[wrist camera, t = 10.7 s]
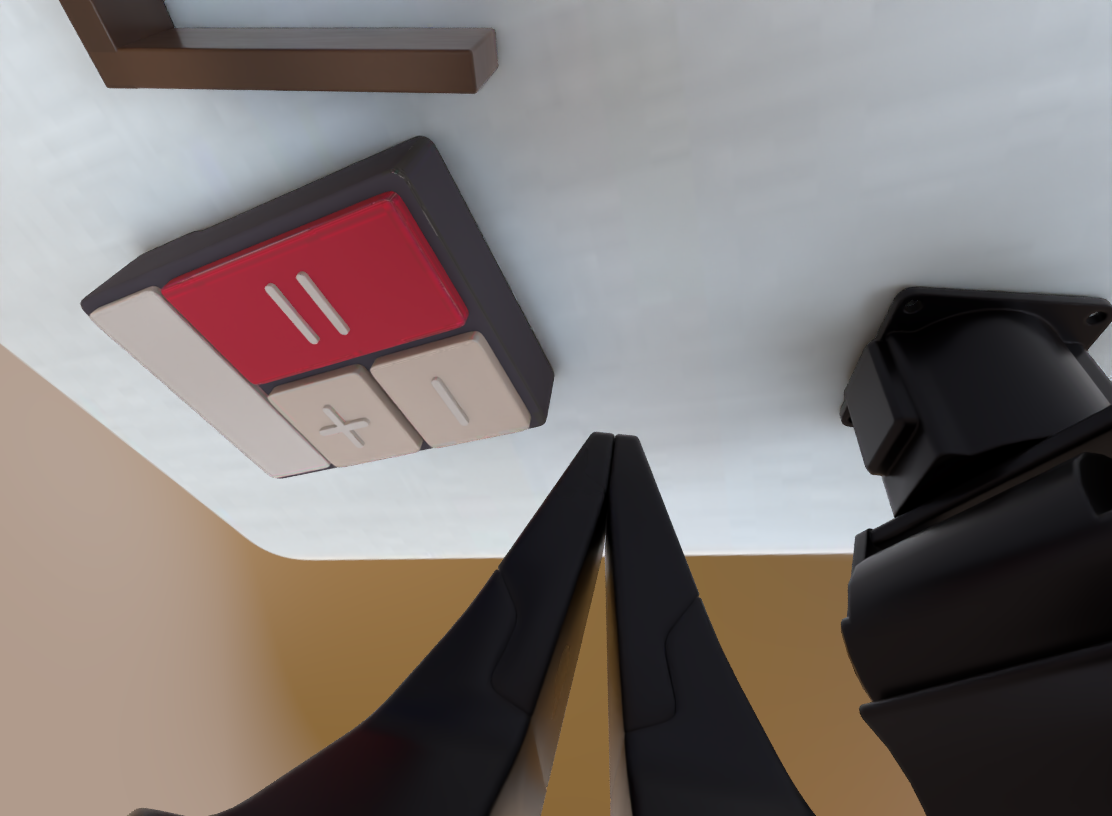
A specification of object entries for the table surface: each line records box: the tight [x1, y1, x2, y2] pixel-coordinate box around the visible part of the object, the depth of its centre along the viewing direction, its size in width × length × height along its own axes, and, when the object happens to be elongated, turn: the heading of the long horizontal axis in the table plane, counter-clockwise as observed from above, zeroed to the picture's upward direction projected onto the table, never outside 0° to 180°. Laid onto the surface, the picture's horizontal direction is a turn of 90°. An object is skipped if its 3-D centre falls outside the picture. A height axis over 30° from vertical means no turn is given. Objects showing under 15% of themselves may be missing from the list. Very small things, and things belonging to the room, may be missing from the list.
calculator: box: [81, 136, 554, 478], centre depth 22 cm, size 11×4×15 cm
